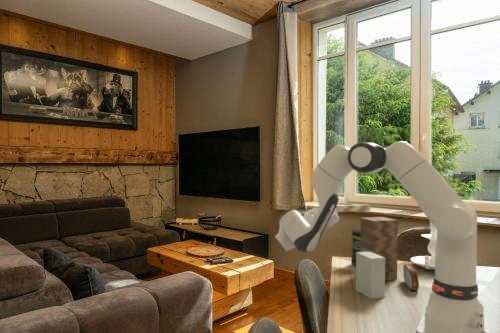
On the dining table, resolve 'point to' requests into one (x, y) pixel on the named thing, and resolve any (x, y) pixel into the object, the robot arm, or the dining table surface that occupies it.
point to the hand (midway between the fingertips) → (335, 207)
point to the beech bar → (354, 208)
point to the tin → (410, 277)
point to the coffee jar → (356, 244)
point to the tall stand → (381, 241)
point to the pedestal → (370, 274)
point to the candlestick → (427, 260)
